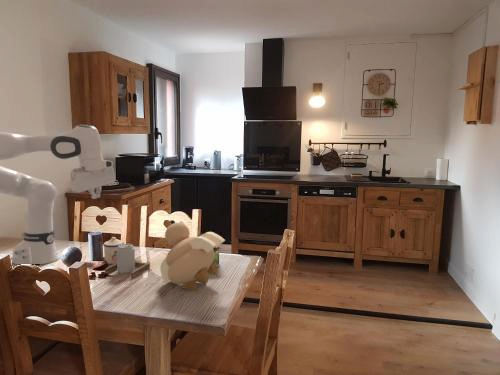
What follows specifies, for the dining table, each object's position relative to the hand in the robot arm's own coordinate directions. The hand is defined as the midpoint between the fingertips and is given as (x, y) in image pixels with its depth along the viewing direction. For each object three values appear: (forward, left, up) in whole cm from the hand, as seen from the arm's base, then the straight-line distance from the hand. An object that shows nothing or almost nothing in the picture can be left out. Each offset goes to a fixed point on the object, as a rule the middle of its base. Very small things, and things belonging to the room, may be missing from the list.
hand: (96, 198), depth 156 cm
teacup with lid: (-6, +21, -34) cm, 40 cm away
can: (+7, +9, -34) cm, 36 cm away
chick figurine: (+41, +3, -34) cm, 53 cm away
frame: (+8, +9, -34) cm, 36 cm away
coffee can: (+38, +30, -34) cm, 59 cm away
